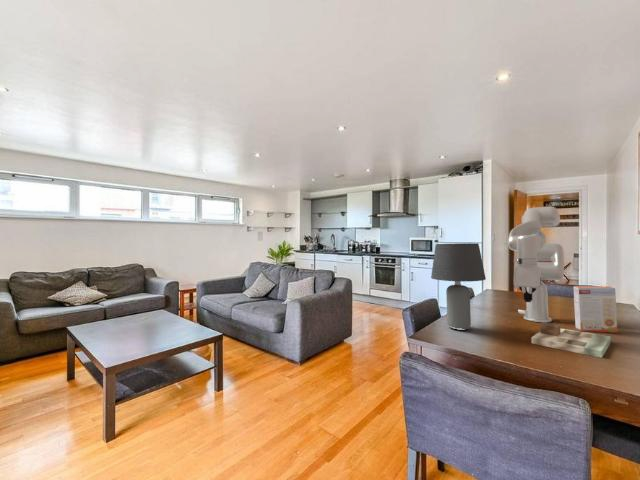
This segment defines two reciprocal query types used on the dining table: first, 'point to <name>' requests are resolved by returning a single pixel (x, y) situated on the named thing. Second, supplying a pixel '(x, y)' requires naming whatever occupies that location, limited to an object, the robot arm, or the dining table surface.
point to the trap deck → (575, 342)
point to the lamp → (458, 278)
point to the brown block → (550, 328)
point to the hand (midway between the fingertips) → (528, 301)
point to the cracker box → (595, 309)
